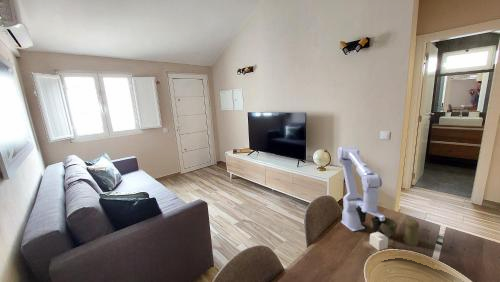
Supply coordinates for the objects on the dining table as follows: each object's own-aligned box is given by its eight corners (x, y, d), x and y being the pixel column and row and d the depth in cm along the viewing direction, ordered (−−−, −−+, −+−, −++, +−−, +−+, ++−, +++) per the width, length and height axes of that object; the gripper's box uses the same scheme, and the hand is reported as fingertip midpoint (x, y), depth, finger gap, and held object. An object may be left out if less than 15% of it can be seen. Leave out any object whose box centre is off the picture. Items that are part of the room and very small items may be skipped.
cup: (390, 242, 102) (392, 227, 100) (375, 233, 108) (376, 219, 106) (399, 236, 105) (400, 222, 103) (384, 229, 111) (385, 215, 110)
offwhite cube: (369, 243, 98) (370, 233, 97) (377, 241, 99) (378, 231, 98) (378, 250, 93) (379, 240, 92) (387, 247, 95) (388, 237, 94)
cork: (421, 246, 98) (423, 224, 96) (406, 245, 99) (408, 224, 97) (414, 237, 104) (416, 217, 101) (400, 236, 105) (402, 216, 103)
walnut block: (362, 247, 100) (362, 242, 99) (378, 243, 102) (378, 237, 101) (378, 261, 91) (378, 255, 91) (395, 256, 93) (395, 250, 93)
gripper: (351, 194, 102) (350, 220, 105) (376, 209, 89) (374, 237, 91) (363, 192, 104) (362, 217, 107) (389, 206, 90) (387, 234, 93)
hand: (368, 226), depth 99 cm, fingers open, 7 cm apart
